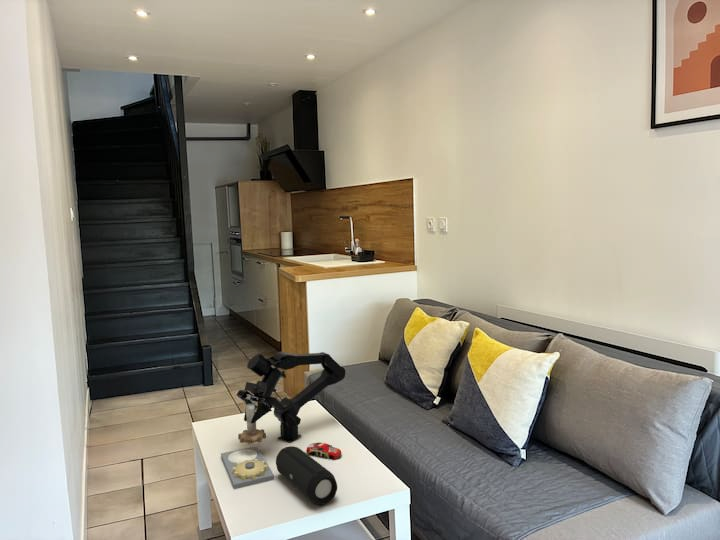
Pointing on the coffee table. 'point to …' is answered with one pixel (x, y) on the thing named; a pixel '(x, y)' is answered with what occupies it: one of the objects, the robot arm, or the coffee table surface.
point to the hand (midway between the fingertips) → (248, 422)
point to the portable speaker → (306, 475)
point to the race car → (323, 451)
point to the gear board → (248, 481)
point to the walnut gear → (251, 428)
